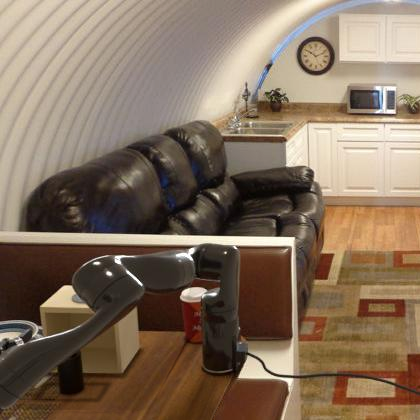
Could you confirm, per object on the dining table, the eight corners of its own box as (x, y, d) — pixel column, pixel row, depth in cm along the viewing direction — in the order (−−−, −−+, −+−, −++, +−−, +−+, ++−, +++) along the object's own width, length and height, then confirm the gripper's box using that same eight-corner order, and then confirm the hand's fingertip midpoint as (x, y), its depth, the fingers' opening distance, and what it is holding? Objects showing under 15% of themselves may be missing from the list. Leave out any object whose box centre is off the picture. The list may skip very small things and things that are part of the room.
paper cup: (202, 346, 174) (200, 299, 170) (176, 342, 176) (174, 295, 172) (215, 333, 182) (214, 288, 178) (191, 329, 183) (189, 284, 179)
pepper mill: (88, 384, 153) (84, 343, 150) (78, 396, 148) (74, 354, 145) (65, 384, 152) (61, 342, 149) (55, 396, 147) (51, 353, 144)
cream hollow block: (139, 350, 170) (135, 286, 165) (122, 376, 158) (117, 307, 152) (70, 349, 169) (63, 284, 164) (47, 375, 156) (39, 306, 151)
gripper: (47, 357, 120) (83, 318, 135) (-32, 355, 119) (14, 316, 134) (51, 391, 122) (86, 349, 137) (-26, 390, 121) (18, 348, 136)
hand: (50, 333), depth 136 cm, fingers open, 8 cm apart
